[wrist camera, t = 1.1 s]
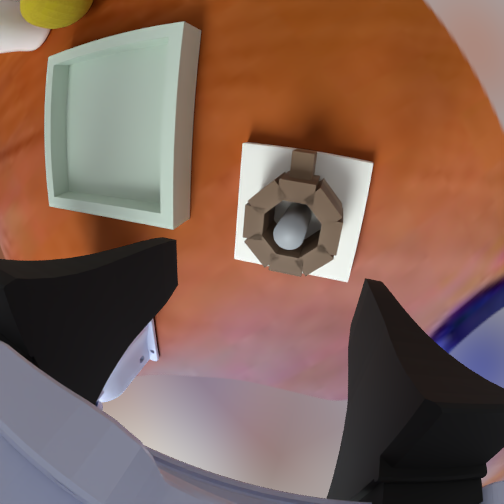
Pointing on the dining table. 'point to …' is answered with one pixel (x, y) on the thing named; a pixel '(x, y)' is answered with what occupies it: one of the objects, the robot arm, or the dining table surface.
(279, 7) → the dining table surface
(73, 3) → the lemon
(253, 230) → the ring
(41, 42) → the drinking glass
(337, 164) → the white base with peg
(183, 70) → the tray
